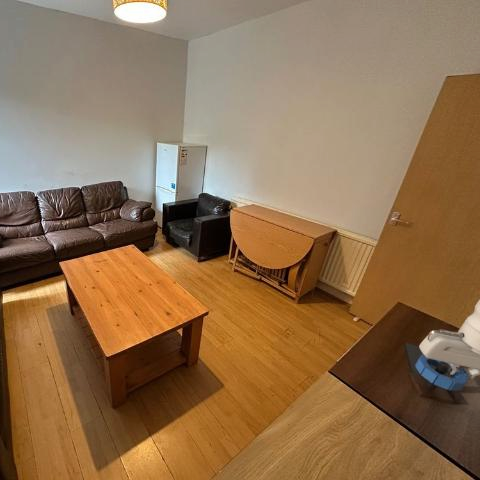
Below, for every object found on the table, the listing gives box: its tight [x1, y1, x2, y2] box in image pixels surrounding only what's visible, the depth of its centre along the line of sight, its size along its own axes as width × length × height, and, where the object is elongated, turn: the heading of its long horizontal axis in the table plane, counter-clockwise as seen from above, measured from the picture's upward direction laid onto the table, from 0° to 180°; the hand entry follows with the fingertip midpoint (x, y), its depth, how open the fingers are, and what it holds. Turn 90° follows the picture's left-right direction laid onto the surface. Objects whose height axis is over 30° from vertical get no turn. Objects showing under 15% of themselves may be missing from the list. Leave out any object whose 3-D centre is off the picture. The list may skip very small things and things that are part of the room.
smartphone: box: [403, 342, 436, 375], centre depth 82 cm, size 7×1×15 cm
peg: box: [407, 361, 455, 405], centre depth 72 cm, size 7×7×10 cm
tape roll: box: [415, 354, 469, 391], centre depth 71 cm, size 9×10×3 cm
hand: (458, 374), depth 70 cm, fingers closed on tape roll
